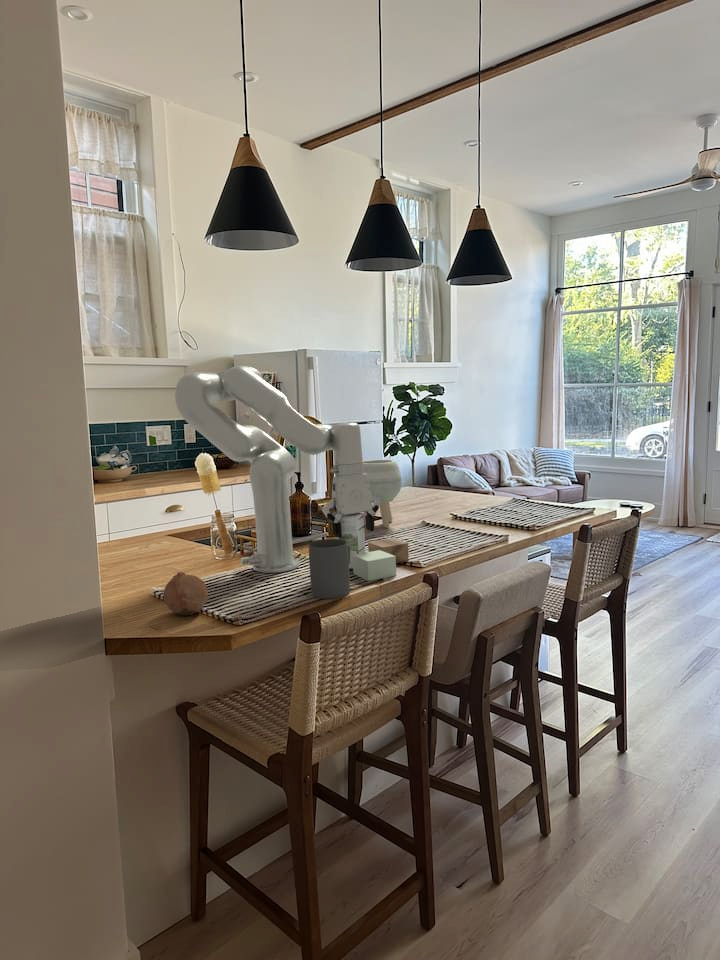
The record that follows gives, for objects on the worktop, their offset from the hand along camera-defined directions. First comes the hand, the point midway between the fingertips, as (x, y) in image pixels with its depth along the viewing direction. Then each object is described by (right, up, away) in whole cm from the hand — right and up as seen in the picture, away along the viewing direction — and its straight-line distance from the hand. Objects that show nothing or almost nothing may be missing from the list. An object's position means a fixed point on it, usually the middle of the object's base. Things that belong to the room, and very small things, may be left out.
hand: (354, 533), depth 174 cm
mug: (-4, -12, -19) cm, 23 cm away
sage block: (+5, -10, -7) cm, 13 cm away
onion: (-37, -15, -30) cm, 50 cm away
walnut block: (+9, -8, +6) cm, 14 cm away
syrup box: (0, -9, +1) cm, 9 cm away
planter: (+9, -2, +54) cm, 55 cm away
